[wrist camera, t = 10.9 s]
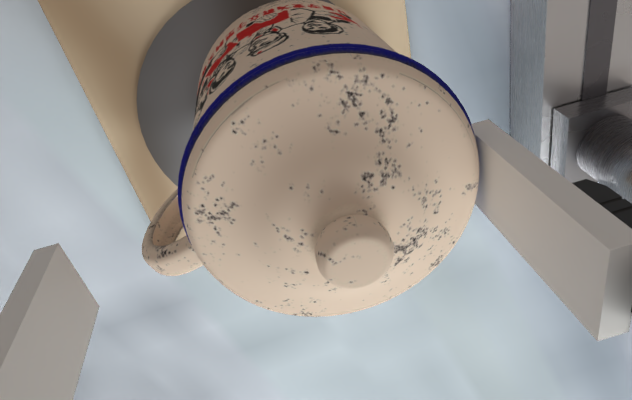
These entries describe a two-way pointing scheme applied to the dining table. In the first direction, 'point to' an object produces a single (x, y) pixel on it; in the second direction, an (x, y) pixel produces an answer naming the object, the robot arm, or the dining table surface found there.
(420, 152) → the teacup with lid
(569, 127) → the lever handle
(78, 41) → the press bed
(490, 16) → the dining table surface
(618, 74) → the lever track
